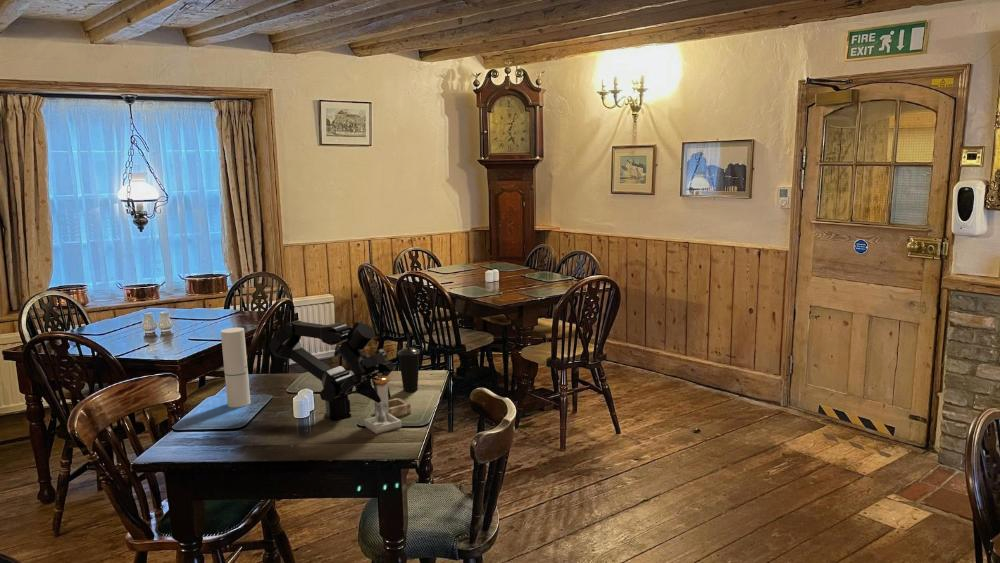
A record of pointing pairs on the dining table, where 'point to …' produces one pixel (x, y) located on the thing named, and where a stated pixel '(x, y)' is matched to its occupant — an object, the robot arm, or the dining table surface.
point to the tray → (382, 424)
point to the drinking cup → (409, 367)
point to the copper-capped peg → (381, 398)
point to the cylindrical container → (235, 367)
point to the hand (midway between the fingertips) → (384, 399)
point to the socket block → (398, 407)
